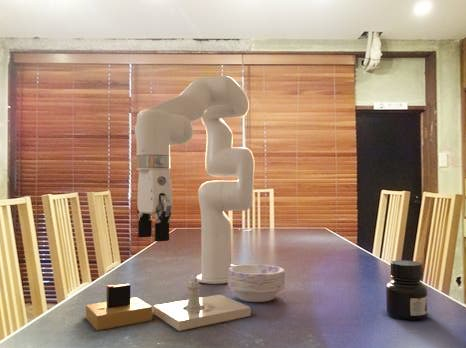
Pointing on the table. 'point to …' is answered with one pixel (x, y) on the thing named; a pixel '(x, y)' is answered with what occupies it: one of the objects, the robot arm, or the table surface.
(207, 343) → the table surface
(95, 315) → the orange dial base
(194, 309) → the rook chess piece
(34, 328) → the table surface
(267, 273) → the paper bowls
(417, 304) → the ink bottle
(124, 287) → the black battery pack
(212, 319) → the white socket plate
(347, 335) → the table surface
